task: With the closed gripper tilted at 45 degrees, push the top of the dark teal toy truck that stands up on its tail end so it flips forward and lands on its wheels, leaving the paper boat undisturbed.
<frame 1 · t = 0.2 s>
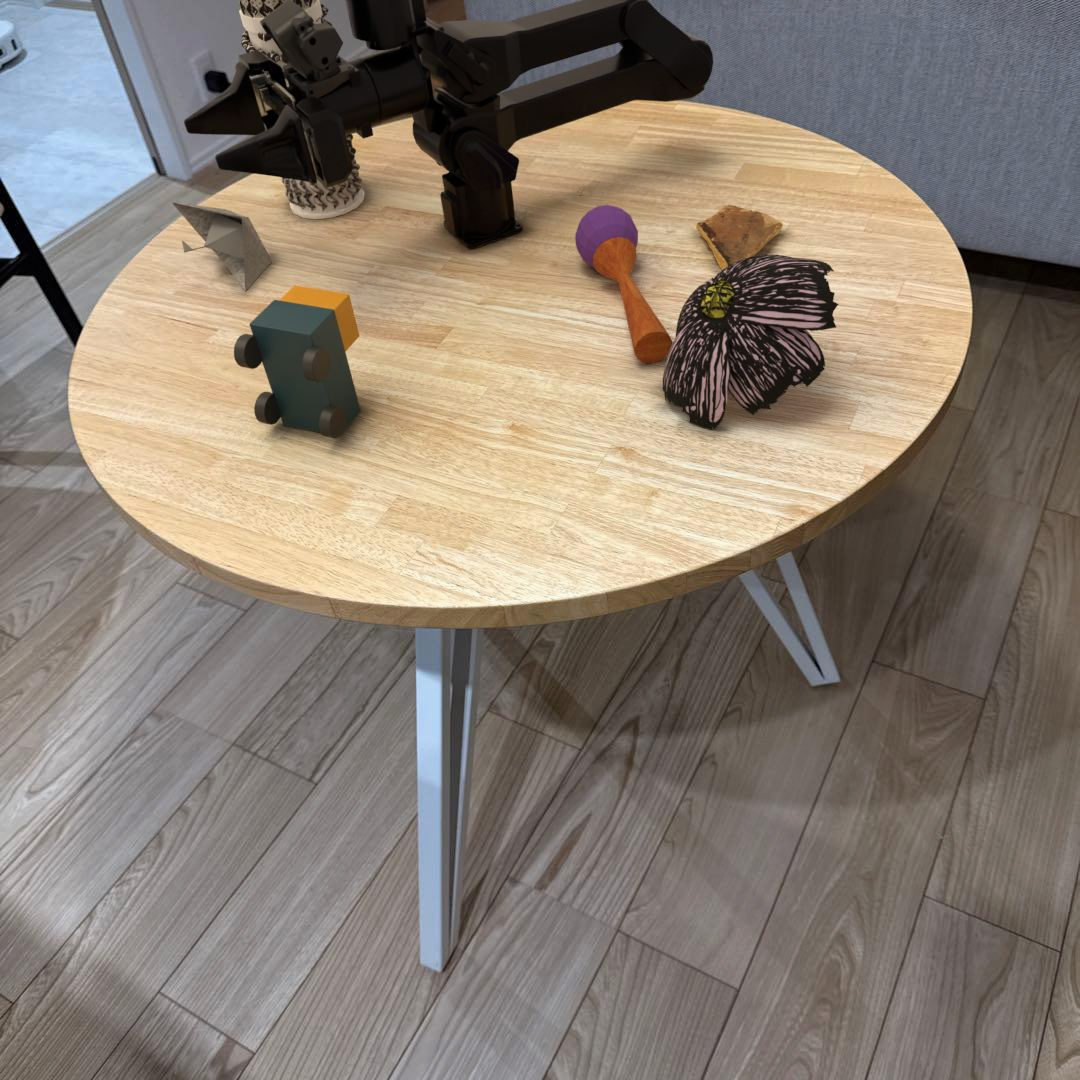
hand: (200, 144, 86), 17 cm above the table, tool horizontal, fingers open, 9 cm apart
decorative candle: (328, 202, 113), on the table
shard: (747, 249, 98), on the table
decorative flower: (741, 385, 83), on the table
purple and orange maraca: (625, 305, 93), on the table
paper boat: (228, 268, 104), on the table
toy truck: (322, 418, 84), on the table
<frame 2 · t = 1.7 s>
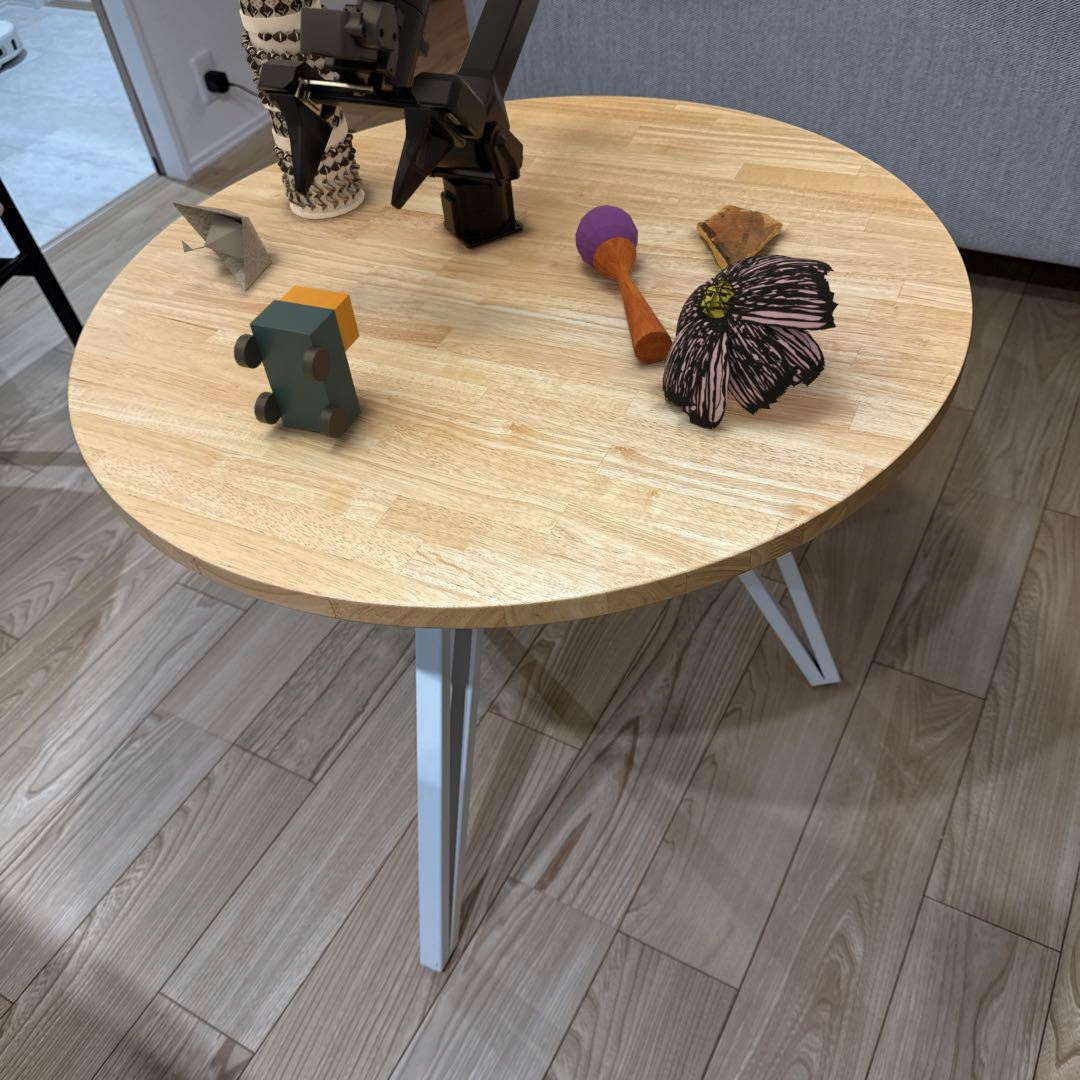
hand: (347, 200, 82), 14 cm above the table, tool tilted 45°, fingers open, 9 cm apart
nothing on the table moved.
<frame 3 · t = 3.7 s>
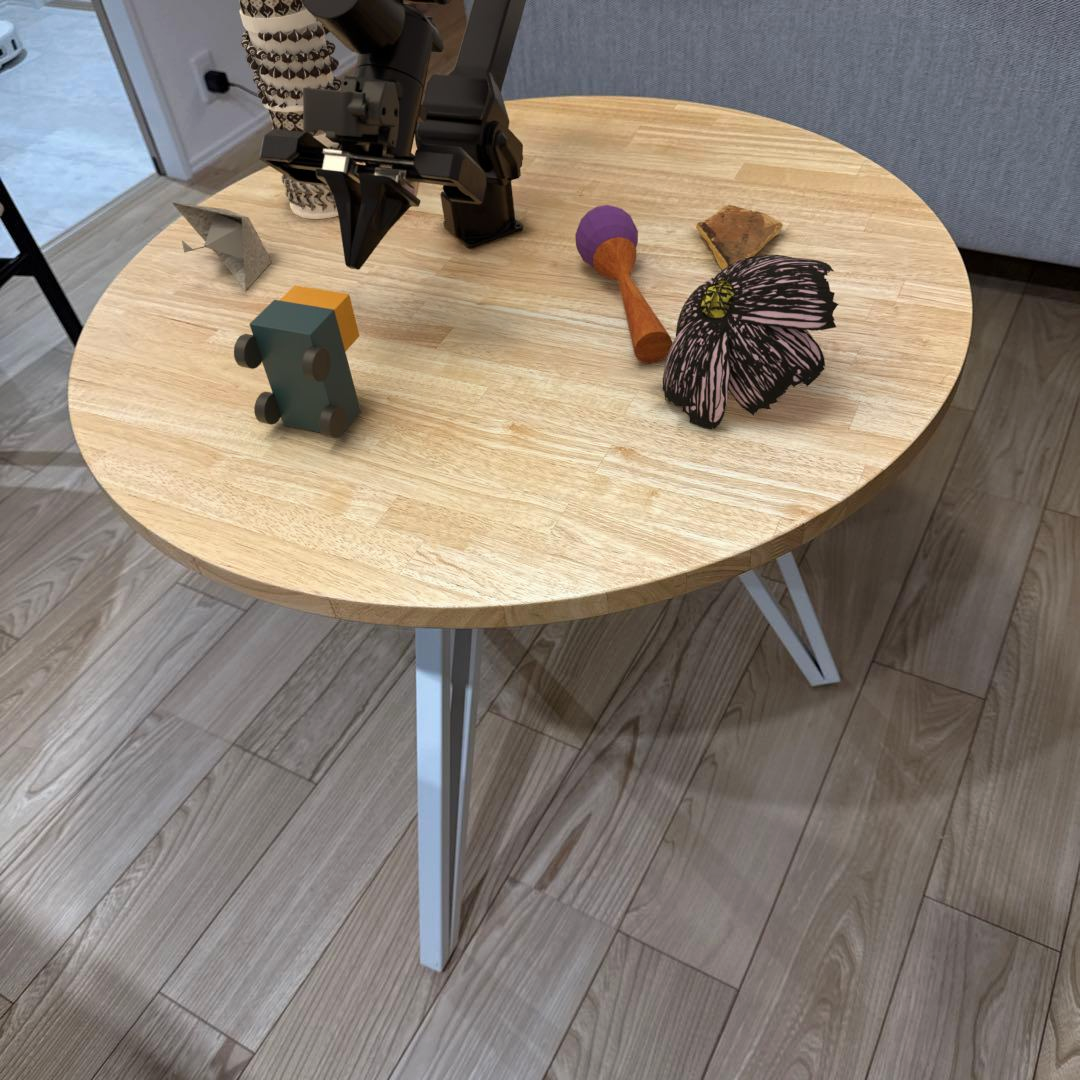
hand: (352, 268, 84), 9 cm above the table, tool tilted 45°, fingers closed
nothing on the table moved.
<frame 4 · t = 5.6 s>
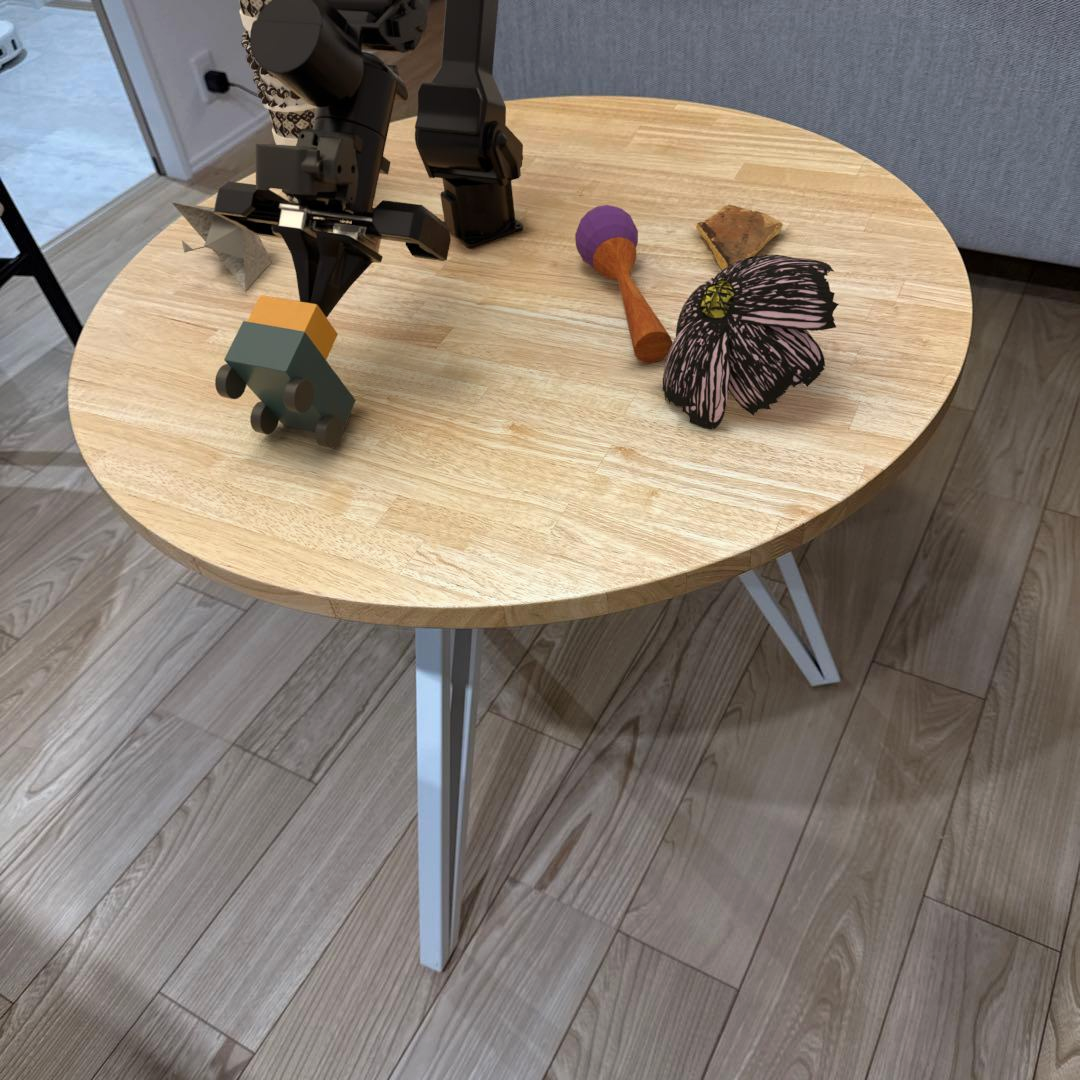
hand: (310, 327, 80), 8 cm above the table, tool tilted 45°, fingers closed
toy truck: (319, 412, 84), point 1 cm above the table, tilted 22°
everything else where it was.
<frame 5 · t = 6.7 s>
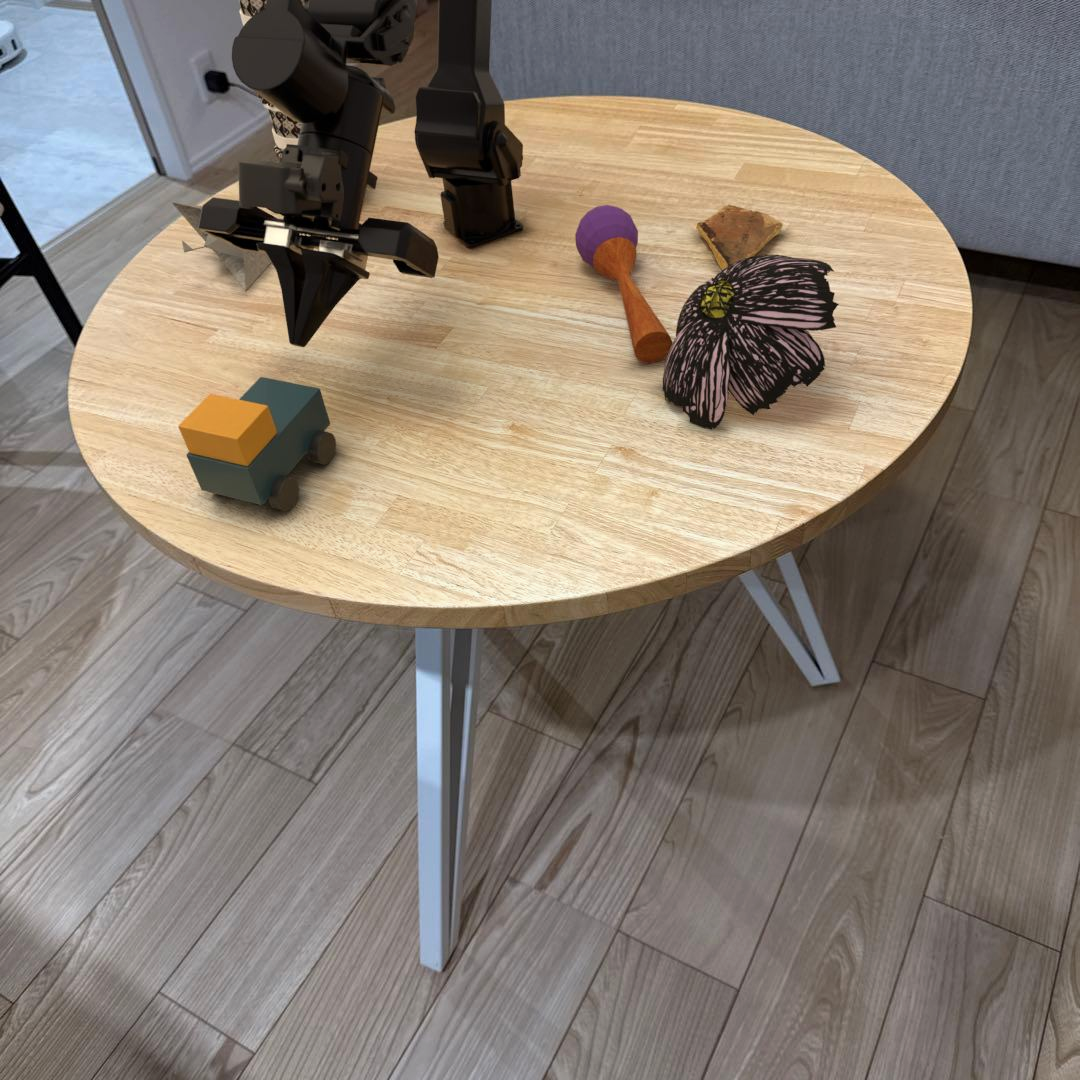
hand: (297, 345, 79), 8 cm above the table, tool tilted 45°, fingers closed
toy truck: (295, 400, 80), point 4 cm above the table, tilted 90°
everything else where it was.
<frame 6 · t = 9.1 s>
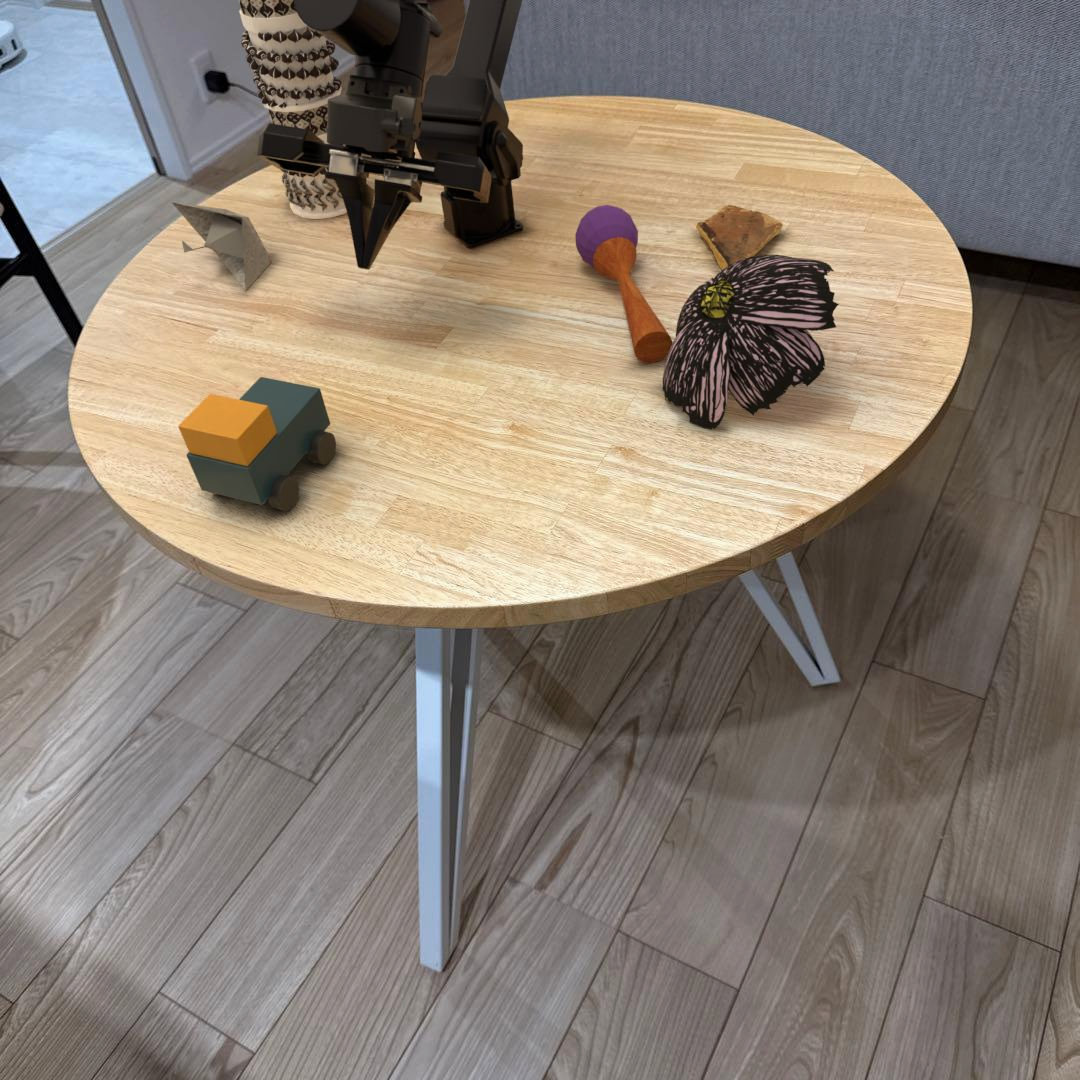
hand: (363, 268, 85), 8 cm above the table, tool tilted 40°, fingers closed
nothing on the table moved.
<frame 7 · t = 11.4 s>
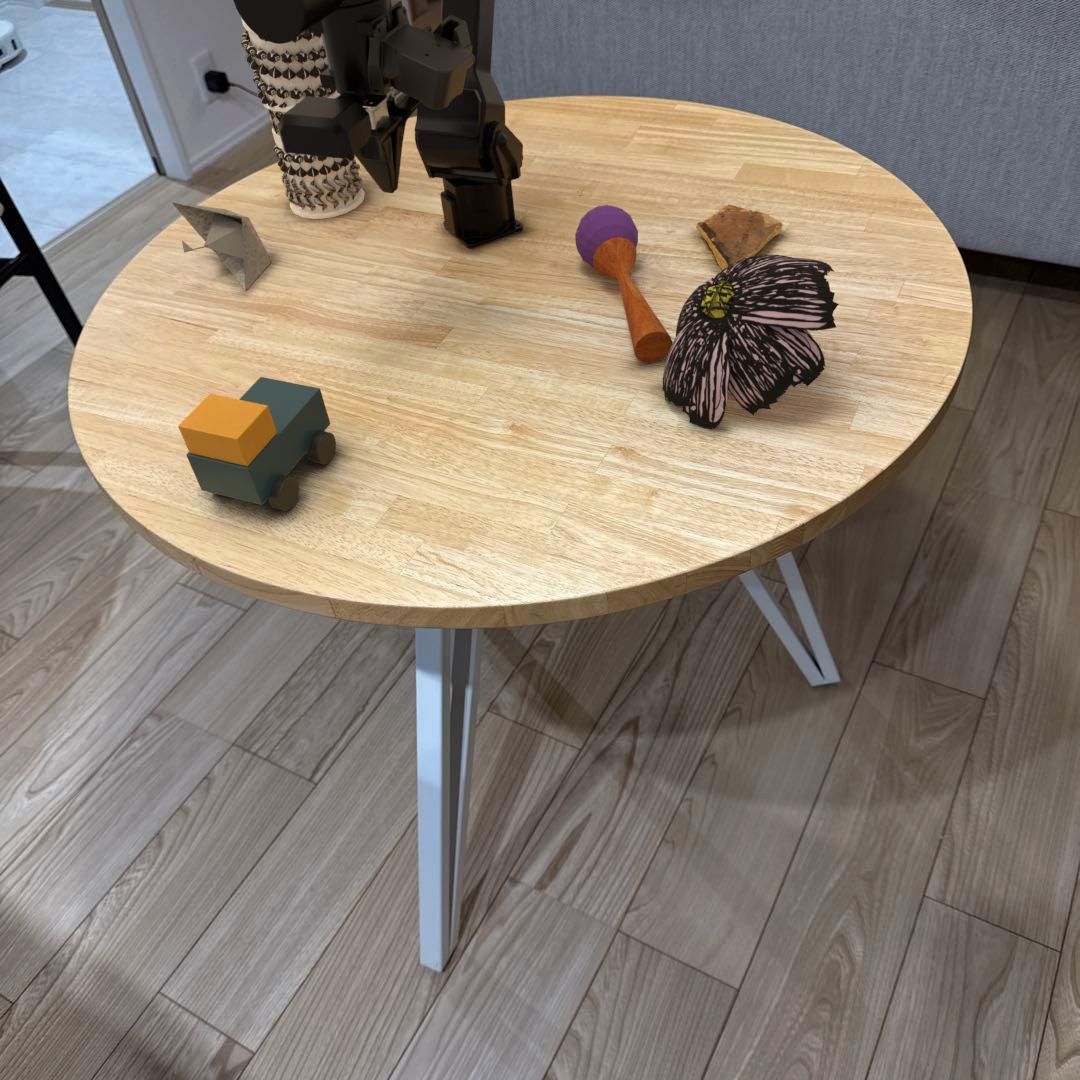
hand: (390, 191, 86), 12 cm above the table, tool pointing down, fingers closed
nothing on the table moved.
at the end: toy truck tilted 90°; toy truck inside the target area (1.9 cm from its centre), point 3.7 cm above the table; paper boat moved 0.2 cm from its start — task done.
